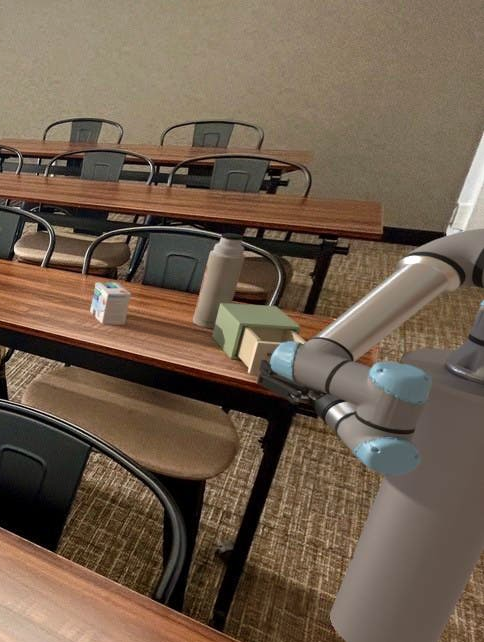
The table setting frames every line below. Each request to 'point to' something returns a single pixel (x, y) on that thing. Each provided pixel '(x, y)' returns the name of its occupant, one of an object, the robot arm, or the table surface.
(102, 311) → the light bulb box
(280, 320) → the cabinet
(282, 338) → the drawer
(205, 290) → the thermos bottle
